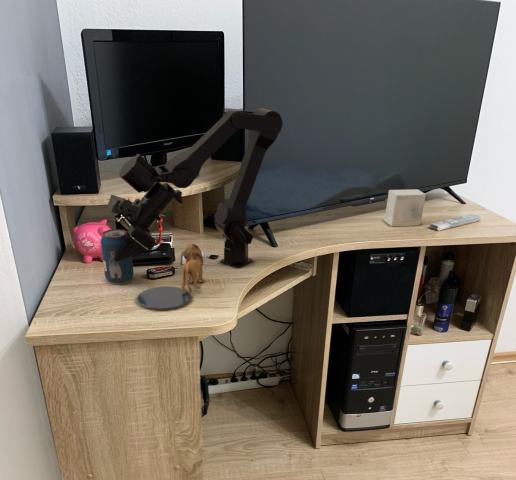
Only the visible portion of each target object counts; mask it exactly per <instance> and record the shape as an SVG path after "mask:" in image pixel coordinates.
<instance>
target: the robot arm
mask: <svg viewBox="0 0 516 480" xmlns="http://www.w3.org/2000/svg"><path fill="white" fill-rule="evenodd" d="M283 125H284V120H283V119H282V116H281V115H280V113H279V112H277V111H275V110H271V109H267V108H263V107H261V108H260V107H259V108H257V109H255V110H253V111H250V110H237V109H235V108H231V109H228V110H226V111H225V112H224V114H223V116H222V117H221V118H220V119H219V120H218V121H217V122H216V123H215V124H213V126H211V127H210V128H209V130H207V131H206V132H205V134H203V135H202V136H201V137H200V138H199V139H198V140H197V141H196V142H195V143H194V144H193V145H192V146H191V147H190V148H188V149H186V150H185V151H182V152H180V153H177V154H176V155H175V156H173V157H172V158H170V159H169V160H168V161H166V163H165V164H162V165H158V166H157V165H156V166H152V165H151V164H150V163H148V161H146V159H145V157H143V155H141V154H139V153H137V154H136V155H135V156H134V157H132V158H131V159H129V160H128V161H127V162H125V163H124V164H123V165H122V167H121V168H120V171H119V173H118V177H119V178H120V179H122V180H123V181H124V182H125V183H126V184H128V186H130V187H131V188H132V189H133V190H135V192H137V193H139V194H140V193H142V192H143V193H145V194H144V195H143V196H142V197H141V199H140V198H135V199H134V200H133V201H131V200H130V199H126V198H125V197H120V196H118V195H115V194H111V195H110V197H109V200H108V202H107V206H106V208H107V209H108V210H109V211H110V212H111V213H112V216H113V217H112V221H113V226H114V228H113V229H121V230H125V231H126V232H127V233H126V232H125V231H124V235H125V241H124V242H123V244H122V246H121V247H120V249H119V250H118V252H117V254H116V255H115V257H114V260H115V261H116V262H119V261H121V260H123V259H125V258H127V257H129V256H132V257H133V256H134V255H136V254H139V253H141V252H146V251H147V250H148V251H149V252H150V251H152V250H153V248H154V247H155V246H156V239H155V237H154V236H153V235H152V234H151V230H150V228H151V227H152V226H153V225H154V223H156V221H157V222H160V221H161V220H162V217H161V215H162V213H164V212H165V210H166V209H167V208H168V207H169V205H170V204H171V203H172V202H173V201H174V200H175V201H176V202H177V203H179V204H181V205H182V204H183V191H181V190H180V189H186V188H188V187H190V186H191V185H192V184H193V182H194V181H195V180H196V179H197V177H198V176H199V174H200V171H201V170H202V168H203V166H204V164H205V163H206V162H207V161H208V160H209V159H210V158H211V157H212V156H213V155H214V154H215V153H216V152H217V151H218V150H219V149H220V148H221V147H222V146H223V145H224V144H225V143H226V142H227V141H229V140H230V138H231V137H232V136H234V135H235V134H236V133H237V131H239V130H247V136H248V138H247V139H248V143H247V147H246V150H245V152H244V155H243V158H242V161H241V164H240V167H239V169H238V172H237V175H236V178H235V181H234V183H233V185H232V186H233V187H232V190H231V192H230V195H229V197H228V199H227V200H226V201H225V202H224V203H222V202H218V204H217V208H216V212H215V214H214V215H213V218H214V225H215V228H216V229H217V231H219V232H220V233H221V236H222V237H224V238H225V240H224V247H223V258H221V259H220V261H219V262H220V263H222V264H225V265H229V266H231V267H235V268H241V267H243V266H246V265H248V264H250V263H252V262H253V258H250V257H249V245H251V244H252V241H253V239H254V235H253V234H252V233H250V231H249V230H247V229H246V223H247V219H248V217H247V216H248V215H247V206H248V202H249V200H250V196H251V194H252V191H253V188H254V185H255V183H256V181H257V177H258V174H259V173H260V170H261V167H262V164H263V161H264V158H265V155H266V153H267V151H268V149H269V148H270V147H271V146H272V145H273V144H274V143H275V142H276V141H277V139H278V138H279V137H278V136H279V135H280V133H281V131H282V129H283ZM158 178H159V179H160V180H161V181H163V182H164V183H161V182H160V181H159V180H158ZM171 185H173V186H174V187H176V188H179V189H174V188H173V187H172V186H171Z"/></svg>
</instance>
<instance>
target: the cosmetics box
mask: <svg viewBox="0 0 516 480" xmlns="http://www.w3.org/2000/svg"><path fill="white" fill-rule="evenodd" d="M426 197H427V193H425V192H423V191H421V190H420V189H418V188H417V189H416V188H415V189H389V190H388V196H387V200H386V201H387V202H386V206H385V207H386V208H385V213H384V219H383V220H384V222H385V223H386V224H387V225H389V226H390V227H407V226H408V227H411V226H414V227H415V226H421V223H422V218H423V213H424V208H425V202H426Z"/></svg>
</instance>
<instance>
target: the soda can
mask: <svg viewBox="0 0 516 480" xmlns="http://www.w3.org/2000/svg"><path fill="white" fill-rule="evenodd" d="M124 231H125V230H121V229H114V228H113V229H107V230H105V231H103V232H102V233H101V238H100V248H101V256H102V263H103V272H104V278H105V279H106V280H107V281H108V282H109V284H112V285H124V284H125V285H126V284H128V283H130V282H131V281H132V280H133V277H134V275H135V273H134V272H135V271H134V263H133V255H132V256H129V257H127V258H125V259H123V260H121V261H119V262H116V261H115V260H114V257H115V255H116V254H117V252H118V250H119V249H120V247H121V246H122V244H123V242H124V241H125V235H124ZM125 232H126V231H125ZM126 233H127V232H126Z"/></svg>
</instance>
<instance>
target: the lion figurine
mask: <svg viewBox="0 0 516 480" xmlns="http://www.w3.org/2000/svg"><path fill="white" fill-rule="evenodd" d="M181 254H182V257H183V258H184V260H186V262H185V263H184V264H183V266H182V270H181V284H180V285H181V289H182V290H181V292H186V291H188V293H189V294H192V293H193V290H192V288H191V286H190V284H191V283H193V287H194V289H195V290H201V286H199V285H198V282H199V283H202V282H204V279H203V272H204V269H203V266H204V263H205V262H204V256H203V252H202V250H201V248H200V247H199V245H197V244H196V243H189V244H187V246H186V248H185V250H184V251H182V252H181ZM186 287H187V289H188V290H187V289H186Z"/></svg>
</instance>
